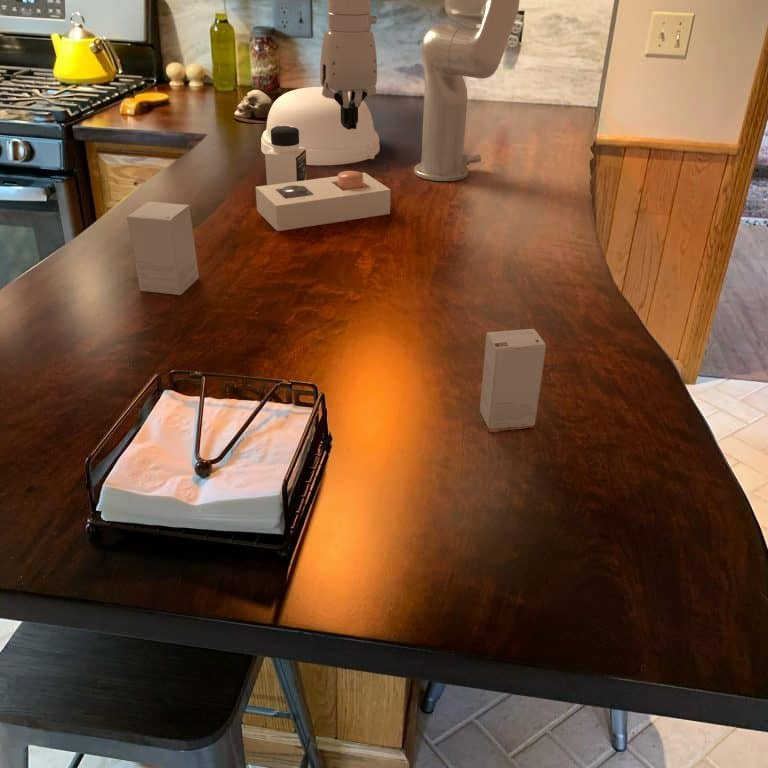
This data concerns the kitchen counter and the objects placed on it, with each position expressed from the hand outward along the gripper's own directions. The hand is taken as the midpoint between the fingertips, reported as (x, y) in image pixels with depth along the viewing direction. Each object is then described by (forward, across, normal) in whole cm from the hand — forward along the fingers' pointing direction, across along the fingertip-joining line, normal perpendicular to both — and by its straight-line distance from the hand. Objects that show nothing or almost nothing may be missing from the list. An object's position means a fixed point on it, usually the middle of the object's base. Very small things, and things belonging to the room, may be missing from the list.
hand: (349, 127), depth 148 cm
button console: (+16, +6, 0) cm, 17 cm away
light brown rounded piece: (+13, 0, 0) cm, 13 cm away
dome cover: (+16, -12, -44) cm, 48 cm away
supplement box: (+17, +42, +21) cm, 50 cm away
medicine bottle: (+16, +6, -21) cm, 27 cm away
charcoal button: (+15, +12, 0) cm, 19 cm away
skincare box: (+17, +14, +77) cm, 80 cm away
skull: (+16, -6, -78) cm, 80 cm away
